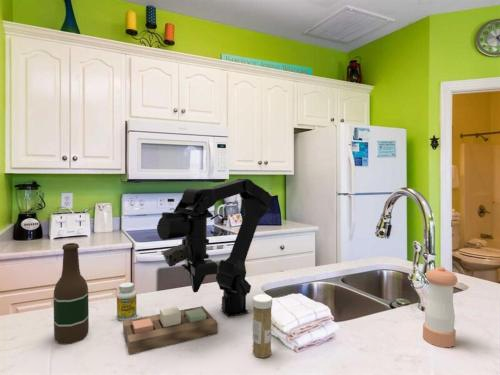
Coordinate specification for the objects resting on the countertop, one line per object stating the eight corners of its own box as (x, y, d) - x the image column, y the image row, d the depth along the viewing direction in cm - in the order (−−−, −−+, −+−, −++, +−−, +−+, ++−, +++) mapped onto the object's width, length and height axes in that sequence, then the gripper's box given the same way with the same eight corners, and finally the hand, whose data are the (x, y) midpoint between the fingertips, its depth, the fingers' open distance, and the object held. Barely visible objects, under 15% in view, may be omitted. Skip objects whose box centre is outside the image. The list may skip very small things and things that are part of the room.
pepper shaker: (443, 350, 80) (447, 273, 79) (416, 337, 86) (419, 265, 85) (461, 343, 83) (464, 269, 82) (433, 331, 89) (436, 262, 88)
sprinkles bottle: (273, 357, 76) (274, 300, 75) (254, 359, 75) (255, 301, 74) (268, 347, 80) (269, 293, 80) (250, 349, 79) (250, 294, 78)
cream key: (176, 316, 89) (176, 306, 89) (180, 323, 85) (180, 312, 85) (159, 320, 87) (159, 309, 87) (163, 327, 83) (163, 315, 83)
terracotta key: (149, 329, 86) (149, 318, 86) (153, 336, 82) (153, 325, 82) (132, 332, 84) (132, 321, 84) (134, 340, 80) (134, 328, 80)
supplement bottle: (133, 311, 99) (133, 280, 99) (138, 318, 95) (138, 285, 94) (115, 315, 96) (114, 283, 96) (119, 322, 92) (118, 289, 91)
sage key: (200, 318, 93) (200, 308, 92) (206, 325, 89) (206, 314, 88) (185, 322, 90) (185, 311, 90) (190, 328, 87) (190, 317, 86)
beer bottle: (95, 332, 86) (94, 242, 85) (70, 347, 79) (69, 248, 78) (72, 327, 89) (71, 239, 87) (46, 341, 81) (45, 245, 80)
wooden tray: (202, 316, 97) (202, 306, 97) (217, 334, 86) (217, 322, 86) (123, 331, 87) (123, 320, 86) (129, 354, 76) (129, 342, 76)
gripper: (158, 231, 93) (157, 285, 94) (175, 244, 76) (174, 310, 77) (196, 228, 98) (195, 280, 99) (219, 240, 81) (218, 302, 82)
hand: (195, 291), depth 89 cm, fingers closed
